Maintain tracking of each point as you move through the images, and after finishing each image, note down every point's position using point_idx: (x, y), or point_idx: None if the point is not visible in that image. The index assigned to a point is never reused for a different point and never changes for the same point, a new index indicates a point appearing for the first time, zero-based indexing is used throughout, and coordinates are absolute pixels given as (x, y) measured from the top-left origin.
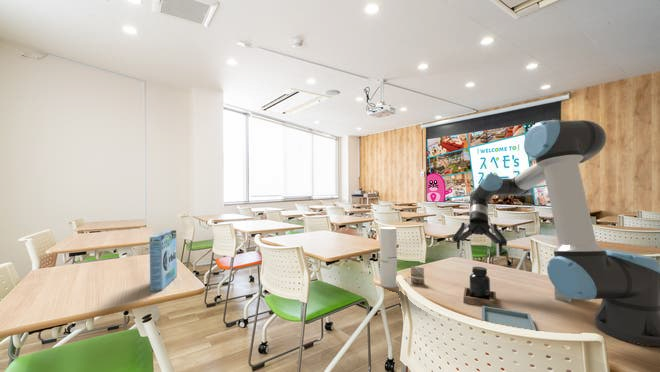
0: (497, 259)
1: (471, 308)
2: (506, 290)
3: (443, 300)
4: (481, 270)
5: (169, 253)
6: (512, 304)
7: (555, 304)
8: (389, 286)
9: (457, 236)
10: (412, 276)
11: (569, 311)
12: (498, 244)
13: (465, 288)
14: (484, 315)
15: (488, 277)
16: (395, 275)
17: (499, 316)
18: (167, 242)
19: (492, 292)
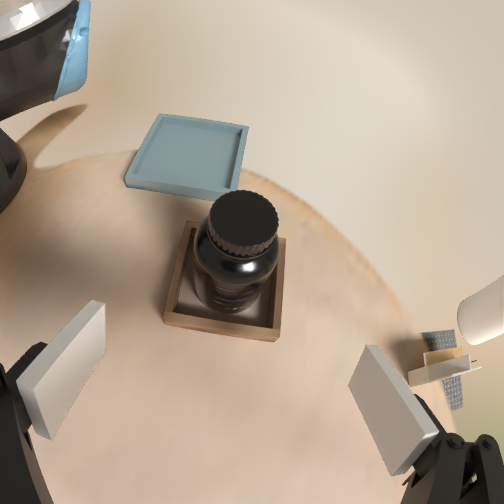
0: (102, 335)
1: None
2: (103, 417)
3: (335, 249)
4: (239, 191)
5: None
6: (127, 272)
7: (8, 302)
8: (465, 299)
9: (471, 492)
10: (452, 356)
11: (7, 259)
12: (26, 373)
13: (278, 322)
14: (238, 149)
15: (202, 226)
16: (480, 300)
17: (199, 172)
18: None
19: (175, 313)
